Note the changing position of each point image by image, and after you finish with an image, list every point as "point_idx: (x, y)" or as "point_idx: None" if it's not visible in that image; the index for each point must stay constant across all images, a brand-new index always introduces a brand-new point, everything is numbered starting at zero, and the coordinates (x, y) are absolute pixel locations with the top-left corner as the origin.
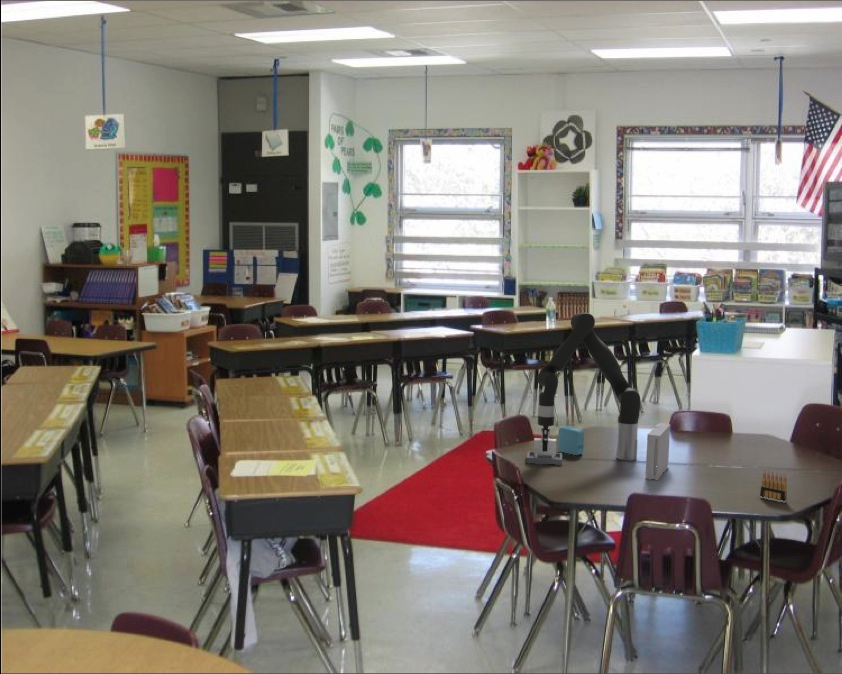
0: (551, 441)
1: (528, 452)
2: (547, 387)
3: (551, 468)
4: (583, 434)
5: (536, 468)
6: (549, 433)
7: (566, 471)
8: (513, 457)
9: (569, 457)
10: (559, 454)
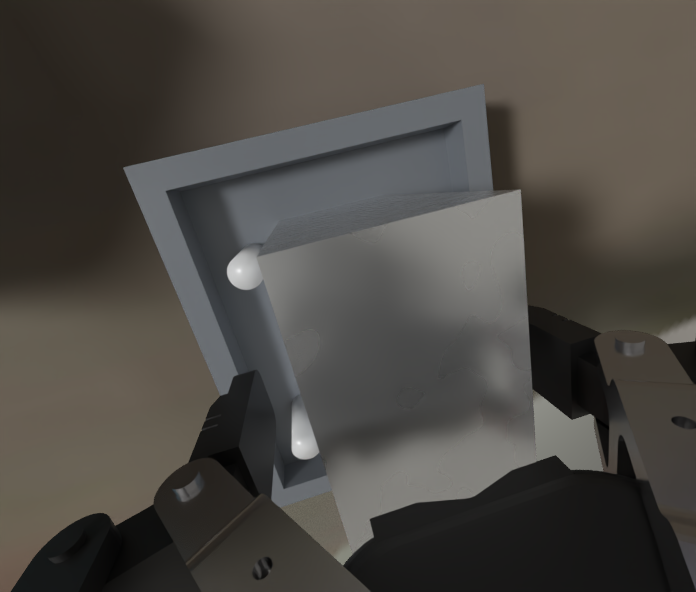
0: (517, 301)
1: (309, 490)
2: None
3: (582, 176)
4: None
5: (605, 291)
6: (685, 521)
7: (662, 2)
8: (336, 534)
9: (16, 98)
10: (172, 197)
